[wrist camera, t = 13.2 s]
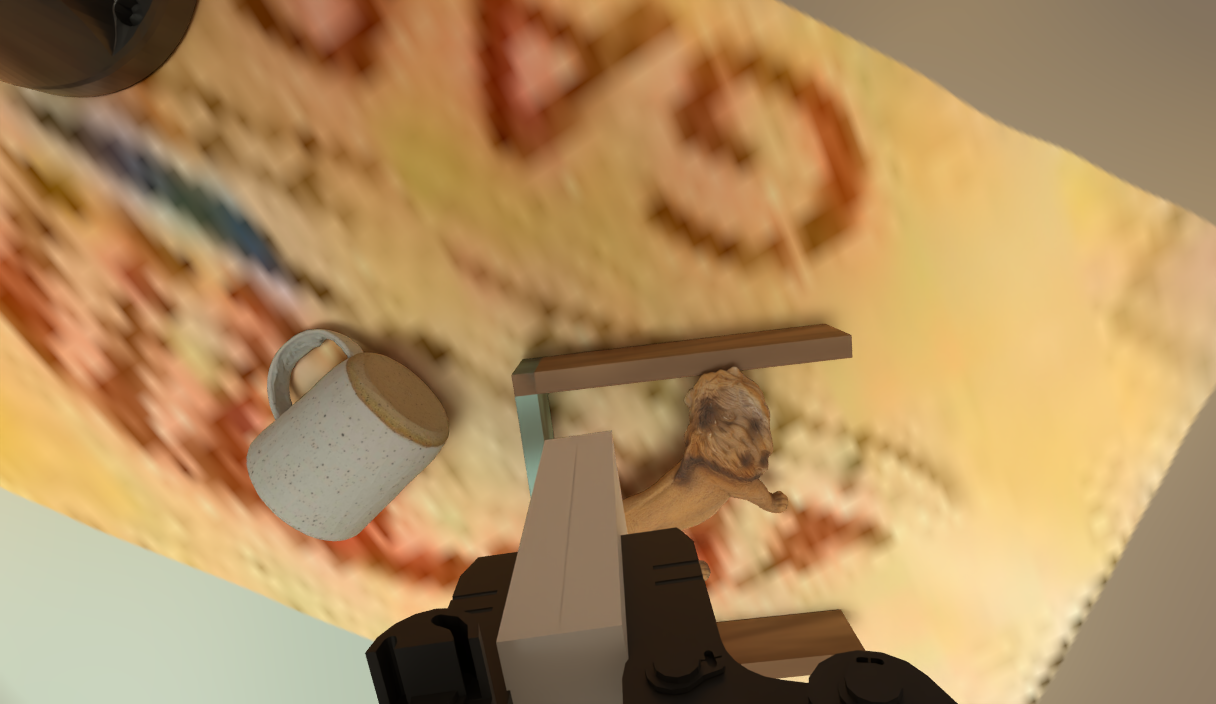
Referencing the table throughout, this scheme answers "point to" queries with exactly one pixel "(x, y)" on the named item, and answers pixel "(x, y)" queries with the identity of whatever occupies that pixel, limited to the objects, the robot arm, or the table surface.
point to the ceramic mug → (343, 439)
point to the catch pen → (750, 642)
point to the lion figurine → (712, 459)
